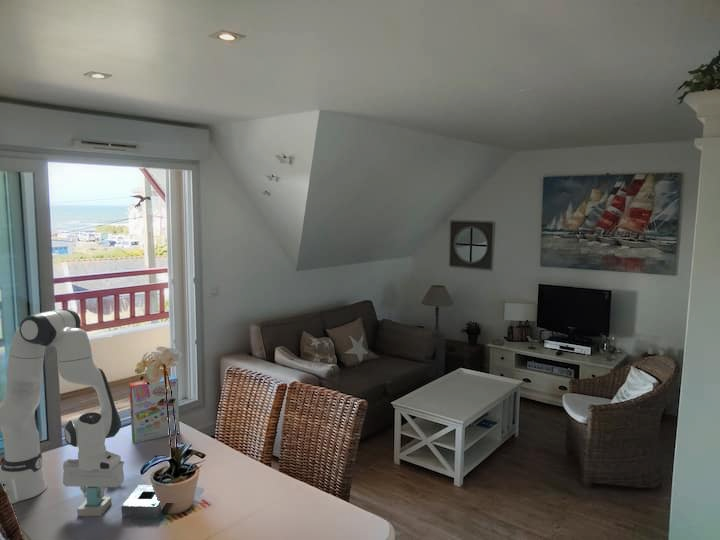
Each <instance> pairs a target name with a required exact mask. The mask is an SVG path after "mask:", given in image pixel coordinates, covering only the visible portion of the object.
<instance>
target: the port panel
mask: <svg viewBox="0 0 720 540" xmlns="http://www.w3.org/2000/svg"><path fill="white" fill-rule="evenodd" d="M152 485H153V484H138V485H137V487H135V489H134V490H133V491H132V492H131V494H130V495H129V496H128V498H126V500H125V501H124V502H123V504H122V505H121V518H122V519H140V520H141V519H142V520H143V519H144V520H145V519H148V520H150V519H151V520H157V519H158V517H159V516H160V515H161V513H162V512H161V506H160V501H158V500H157V497H156V495H155V492H154V490H153V487H152Z"/></svg>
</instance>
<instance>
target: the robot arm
mask: <svg viewBox="0 0 720 540" xmlns="http://www.w3.org/2000/svg"><path fill="white" fill-rule="evenodd" d="M81 324H82V321H81V317H80V316H79V314H78V313H77V312H76V311H74V310H71V309H67V308H66V309H55V310H54V309H53V310H48V311H43V312H39V313H33V314H30V315H27V316H26V317H25V318H23V319H22V320H21V321H20V323H19V326H18V327H17V328H16V329H15V331H14V335H13V336H12V339H11V343H10V347H9V351H8V352H9V354H8V361H7V367H6V374H5V377H6V382H7V383H6V384H7V385H6V386H7V390H6V395H5V397H4V399H3V400H2V401H1V402H0V431H1V434H2V438H3V449H4V456H3V457H2V458H1V459H0V464H1V465H0V483H2V484H3V486H4V488H5V490H6V492H7V494H8V496H9V498H10V501H11V503H12V504H16V503H18V502H21V501H25V500H28V499H29V500H30V499H31V498H34V497H37V496H39V495H40V494H42V493H44V491H45V490H46V489H47V488H48V483H47V482H46V479H45V476H44V472H43V455H42V450H41V447H40V446H41V445H40V444H41V443H40V432H39V430H38V428H37V424H36V420H35V413H36V410H37V408H38V406H39V405H40V402H41V397H42V395H41V394H42V373H43V366H44V359H45V353H46V347H48V346H49V345H52V346H53V347H54V348H55V351H56V357H57V358H56V359H57V368H58V372H59V375H60V377H61V378H62V379H63V380H64V381H66V382H68V383H72V384H75V385H84V386H90V387H92V388H93V389H94V390H95V392H96V394H97V398H98V402H99V405H100V411H99V412H94V411H93V412H92V411H91V412H86V413H83V414H81V415H80V416H78V417H75V418H73V419H70V420H68V422H67V423H66V424H65V427H64V440H65V442H66V444H68V445H69V446H72V447H73V448H78V452H77V459H71V458H69V459H67V460H65V461H63V464H62V468H63V472H62V473H63V475H62V484H63V486H65V487H75V488H76V487H78V488H79V490H80V491H81V492H82V494H83V498H85V499H87V495H86V488H87V487H100V488H101V491H100V492H99V493H98V498H103V497H105V492H106V489H107V488H108V487H111V488H119V487H120V486H122V484H123V482H124V481H125V475H124V474H125V473H124V468H123V467H124V466H123V467H122V465H121V464H120V463H119V462H120V461H122V457H121V455H119V454H116V453H113V452H110V451H108V450H107V446H106V445H105V444H106V439H110V438H114V437H115V436H117V434H118V433H119V431H120V430H121V428H122V420H121V417H120V415H119V413H118V410H117V407H116V405H115V401H114V398H113V394H112V391H111V388H110V385H109V382H108V380H107V377H106V374H105V372H104V371H103V369H101V368H98V366H97V365H96V364H95V362H94V360H93V354H92V353H93V351H92V347H91V343H90V339H89V335H88V333H87V332H86V330H85V329H83V328H81ZM12 504H11V505H12Z"/></svg>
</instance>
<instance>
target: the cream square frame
mask: <svg viewBox="0 0 720 540" xmlns="http://www.w3.org/2000/svg"><path fill="white" fill-rule="evenodd" d="M110 505H112V497H111V496H104V497H103V498H102V503H101V504H100V505H99V506H98V507H87V498H85V500H84V501H83V502H82V503H81V504H80V505H79V506H78V507H77V511H76V512H77V515H76V516H77V517H79V516H80V517H101V516H102V515H103V514H104V513H105V512H106V510H108V508H109V506H110Z"/></svg>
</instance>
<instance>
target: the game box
mask: <svg viewBox="0 0 720 540" xmlns="http://www.w3.org/2000/svg"><path fill="white" fill-rule="evenodd" d="M168 377H169V380H170V385H171V390H172V397H173V404H174V415H175V420H176V428H177V433H178V432H179V433H178V434H181V430H180V412H179V411H180V410H179V380H178V377H177V376H176V375H170V376H169V375H168ZM161 378H162V379H161V380H160V381H159V382H158V383H156V384H152V385H148V384H147V383H146V382H144V381H145V380H139V381H135V382H129V384H128V385H129V402H130V403H129V406H130V407H129V408H130V425H131V428H130V429H131V440H132V442H133V443H132V444H137V443H141V442H147V441H150V440H151V441H152V440H155V439H159V438H160V439H161V438H164V437H169V436H168V420H167V404H166V392H165V381H164V377H161ZM167 395H168V411H169V418H170V431H171V435H170V436H173V435H176V434H175V429H174V416H173V406H172V397H171V391H170V388H169V387H168V389H167Z"/></svg>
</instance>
